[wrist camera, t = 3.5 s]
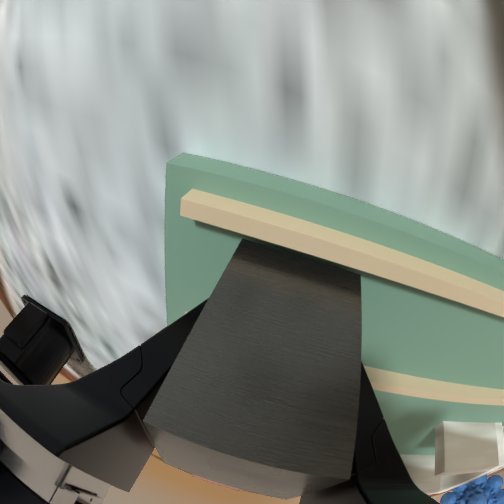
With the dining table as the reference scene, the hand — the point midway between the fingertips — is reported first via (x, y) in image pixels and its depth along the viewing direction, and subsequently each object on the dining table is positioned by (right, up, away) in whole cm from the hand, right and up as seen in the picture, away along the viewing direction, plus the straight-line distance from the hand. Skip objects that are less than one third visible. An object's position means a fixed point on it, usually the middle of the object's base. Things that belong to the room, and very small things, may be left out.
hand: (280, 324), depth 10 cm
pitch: (+7, -5, +4) cm, 10 cm away
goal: (+14, -12, +7) cm, 20 cm away
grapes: (+32, -29, +13) cm, 45 cm away
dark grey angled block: (-1, -3, +4) cm, 5 cm away
